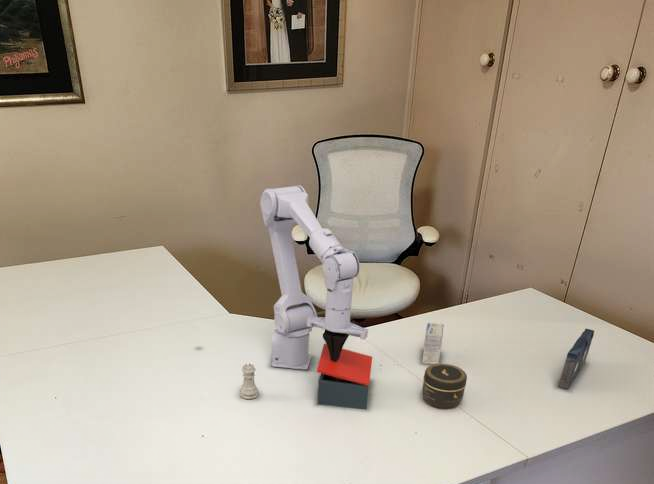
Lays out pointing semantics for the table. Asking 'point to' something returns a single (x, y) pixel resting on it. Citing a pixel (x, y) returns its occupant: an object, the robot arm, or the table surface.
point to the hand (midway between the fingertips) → (334, 359)
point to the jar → (443, 386)
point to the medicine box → (432, 343)
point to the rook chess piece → (248, 383)
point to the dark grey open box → (342, 393)
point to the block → (339, 379)
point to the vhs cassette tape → (576, 359)
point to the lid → (346, 366)
